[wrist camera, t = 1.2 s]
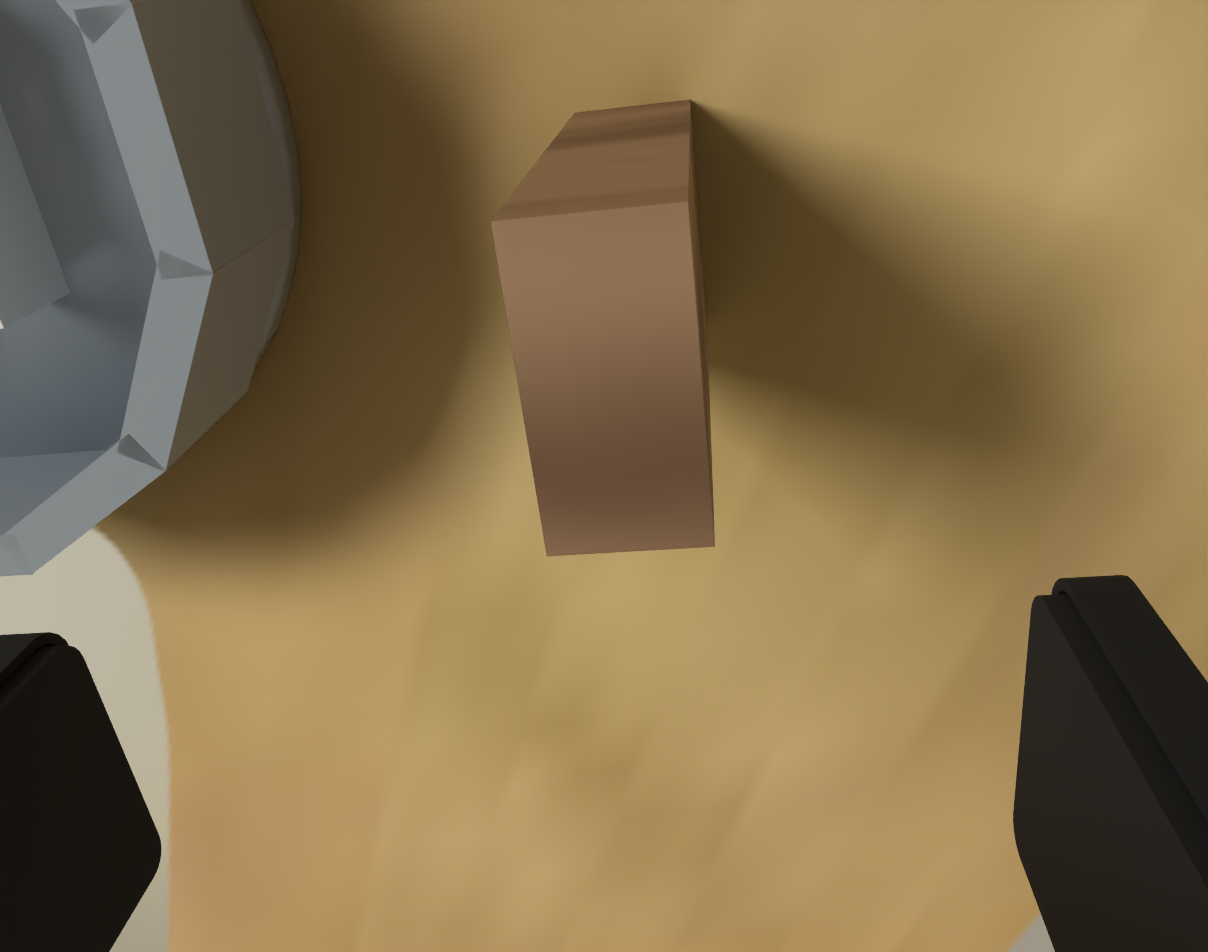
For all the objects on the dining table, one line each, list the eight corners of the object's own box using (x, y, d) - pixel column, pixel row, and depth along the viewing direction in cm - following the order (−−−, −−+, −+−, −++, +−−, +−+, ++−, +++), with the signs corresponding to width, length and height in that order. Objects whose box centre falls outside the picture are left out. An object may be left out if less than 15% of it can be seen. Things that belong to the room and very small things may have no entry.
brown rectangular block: (574, 113, 26) (490, 221, 15) (690, 99, 25) (687, 201, 15) (601, 333, 28) (547, 556, 18) (706, 324, 28) (714, 546, 17)
